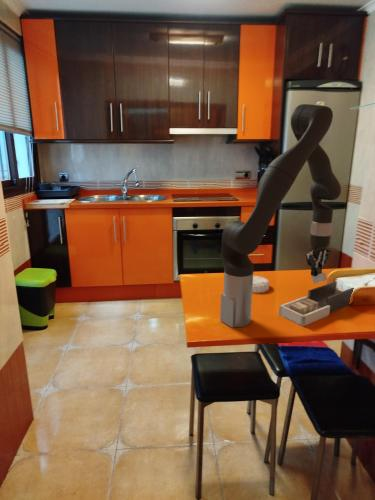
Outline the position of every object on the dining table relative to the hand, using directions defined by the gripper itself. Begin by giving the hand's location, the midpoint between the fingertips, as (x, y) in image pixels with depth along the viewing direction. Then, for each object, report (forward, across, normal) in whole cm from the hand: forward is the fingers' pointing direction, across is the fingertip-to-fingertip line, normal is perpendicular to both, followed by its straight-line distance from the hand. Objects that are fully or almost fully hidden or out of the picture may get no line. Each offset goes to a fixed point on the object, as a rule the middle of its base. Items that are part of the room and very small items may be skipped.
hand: (316, 274), depth 139 cm
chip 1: (+4, -23, -12) cm, 26 cm away
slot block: (+6, -7, -12) cm, 15 cm away
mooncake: (+7, -18, +16) cm, 25 cm away
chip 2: (+6, -20, -12) cm, 24 cm away
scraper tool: (+2, 0, -2) cm, 3 cm away
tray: (+6, -22, -12) cm, 26 cm away
